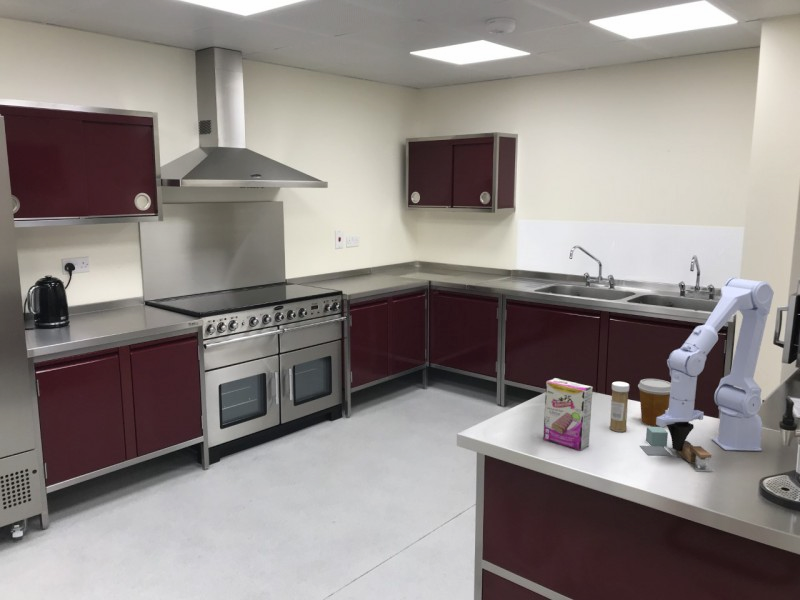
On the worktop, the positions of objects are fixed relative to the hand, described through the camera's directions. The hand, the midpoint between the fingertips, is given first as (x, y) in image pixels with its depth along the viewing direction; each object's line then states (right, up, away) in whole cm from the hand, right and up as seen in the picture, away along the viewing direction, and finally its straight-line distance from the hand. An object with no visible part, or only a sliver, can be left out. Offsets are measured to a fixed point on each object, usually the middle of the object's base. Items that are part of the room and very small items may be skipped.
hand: (677, 449), depth 156 cm
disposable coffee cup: (+4, +2, +24) cm, 24 cm away
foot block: (-2, -1, +8) cm, 9 cm away
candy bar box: (-26, 0, +8) cm, 27 cm away
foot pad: (+3, -1, +2) cm, 4 cm away
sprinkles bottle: (-9, +1, +18) cm, 20 cm away
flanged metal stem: (+3, -3, -7) cm, 8 cm away
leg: (+2, -2, -3) cm, 4 cm away
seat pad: (-4, -1, +3) cm, 5 cm away
